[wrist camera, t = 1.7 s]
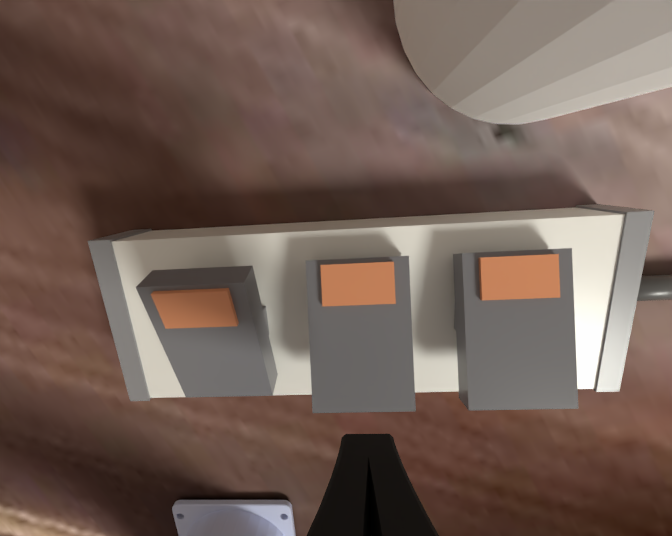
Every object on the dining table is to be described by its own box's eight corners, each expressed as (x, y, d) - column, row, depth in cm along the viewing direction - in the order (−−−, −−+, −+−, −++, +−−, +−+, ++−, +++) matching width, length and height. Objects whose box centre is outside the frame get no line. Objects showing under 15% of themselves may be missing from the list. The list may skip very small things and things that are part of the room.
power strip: (688, 352, 18) (769, 395, 14) (164, 366, 20) (123, 407, 16) (727, 196, 16) (834, 203, 12) (133, 229, 17) (78, 243, 14)
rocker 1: (277, 374, 16) (271, 399, 15) (196, 376, 16) (183, 401, 15) (252, 265, 13) (242, 286, 11) (152, 270, 13) (132, 290, 12)
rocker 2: (410, 398, 14) (416, 413, 13) (316, 400, 14) (311, 415, 13) (404, 256, 14) (409, 255, 12) (310, 260, 14) (304, 260, 13)
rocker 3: (558, 395, 14) (581, 411, 12) (459, 397, 14) (470, 412, 12) (552, 249, 13) (575, 247, 12) (452, 254, 14) (463, 253, 12)
